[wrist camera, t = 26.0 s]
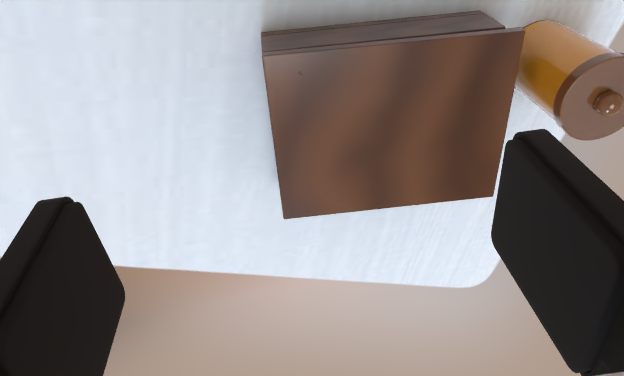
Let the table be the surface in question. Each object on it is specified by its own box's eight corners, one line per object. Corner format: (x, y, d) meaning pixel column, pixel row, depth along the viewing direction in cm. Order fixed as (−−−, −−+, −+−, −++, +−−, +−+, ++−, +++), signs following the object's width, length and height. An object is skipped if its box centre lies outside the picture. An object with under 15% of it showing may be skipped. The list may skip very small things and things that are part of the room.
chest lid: (520, 27, 31) (526, 30, 30) (489, 191, 39) (493, 196, 38) (262, 51, 31) (262, 56, 30) (283, 213, 38) (283, 219, 38)
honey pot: (581, 14, 36) (679, 58, 28) (562, 85, 39) (645, 144, 31) (507, 21, 36) (584, 68, 27) (494, 93, 39) (560, 154, 31)
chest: (480, 10, 35) (506, 26, 31) (459, 163, 43) (478, 189, 39) (260, 32, 34) (262, 51, 31) (280, 184, 42) (283, 213, 38)
